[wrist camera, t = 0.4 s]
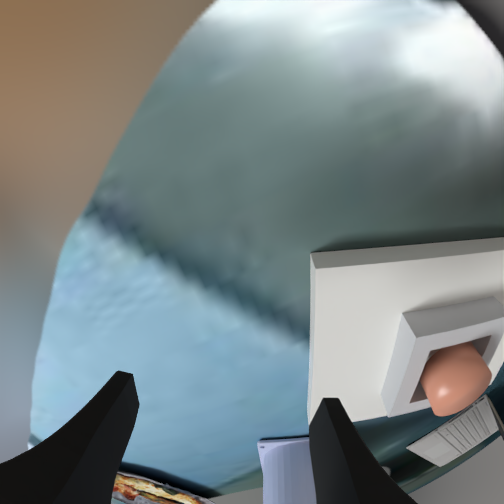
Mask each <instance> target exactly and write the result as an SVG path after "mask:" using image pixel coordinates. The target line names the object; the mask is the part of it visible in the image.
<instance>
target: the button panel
mask: <svg viewBox="0 0 504 504" xmlns="http://www.w3.org/2000/svg"><path fill="white" fill-rule="evenodd" d="M310 265H311V309H310V357H309V382H308V402H307V414H308V423H309V425H310V423H311V421H312V419H313V417H314V415H315V413H316V411H317V409H318V407H319V405H320V403H321V401H322V399H323V398H339V399H340V401H341V403H342V405H343V407H344V409H345V411H346V412H347V414H348V416H349V418H350V420H351V421H352V422H355V421H361V420H367V419H372V418H377V417H382V416H387V415H388V417H393V416H397V415H401V414H406V413H410V412H414V411H418V410H421V409H425V408H429V407H431V405H430V403H429V400H428V398H427V396H426V393H425V391H424V389H423V387H422V385H421V382H420V376H421V374H422V371H423V369H424V366H425V363H426V362H427V361H428V360H429V358H430V357H431V356H432V355H433V354H435V353H436V352H437V351H438V350H440V349H441V348H444V347H448V346H452V345H456V344H460V343H464V342H468V341H470V342H472V344H473V345H474V346H475V348H476V349H477V351H478V352H479V354H480V355H481V357H482V358H483V360H484V361H485V363H486V364H487V366H488V368H489V369H490V371H491V373H492V379H491V381H490V384H489V385H491V384H492V382H493V380H494V378H495V377H496V375H497V373H498V371H499V369H500V367H501V366H502V364H503V362H504V237H499V238H488V239H476V240H464V241H452V242H440V243H428V244H416V245H404V246H392V247H379V248H367V249H354V250H341V251H329V252H316V253H310ZM489 385H488V386H489Z"/></svg>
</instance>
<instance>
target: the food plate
mask: <svg viewBox="0 0 504 504" xmlns="http://www.w3.org/2000/svg"><path fill="white" fill-rule="evenodd" d="M139 495H140V496H139ZM137 496H138V497H137ZM141 496H142V497H141ZM112 497H113V498H114V499H117V500H119V501H121V502H124V503H126V504H182V503H185V504H215V503H214V502H212V501H210V500H209V499H207V498H202V497H200V496H197V495H193V494H191V493H190V492H188V491H184V490H180V489H179V488H173V487H170V486H169V485H168V484H167V483H166V485H164V484H162V483H159V482H157V481H154V480H151V479H148V478H145V477H143V476H139V475H137V474H133V473H130V472H124V471H119V470H118V472H117V476H116V479H115V484H114V489H113V493H112ZM140 497H141V498H140ZM143 497H144V498H145V499H144V498H143Z"/></svg>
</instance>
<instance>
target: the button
mask: <svg viewBox="0 0 504 504" xmlns="http://www.w3.org/2000/svg"><path fill="white" fill-rule="evenodd" d="M491 379H492V373H491V371H490V369H489V368H488V366H487V364H486V363H485V361H484V360H483V358H482V357H481V355H480V354H479V352H478V351H477V349H476V348H475V346H474V345H473V344H472V342H470V341H468V342H464V343H460V344H456V345H452V346H448V347H444V348H441V349H440V350H438V351H437V352H436V353H435V354H433V355H432V356H431V357H430V358H429V360H428V361H427V362H426V363H425V366H424V369H423V371H422V374H421V376H420V382H421V385H422V387H423V389H424V391H425V393H426V396H427V398H428V400H429V403H430V405H431V407H432V410H433V412H434V414H435V415H437V416H448V415H452V414H454V413H457V412H459V411H461V410H463V409H464V408H466V407H468V406H469V405H470V404H472V403H473V402H474V401H475V400H477V399H478V398H479V397H480V396H481V395H482V394H483V392H484V391H485V390H486V389H487V387H488V385H489V384H490V381H491Z"/></svg>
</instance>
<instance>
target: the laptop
mask: <svg viewBox="0 0 504 504" xmlns="http://www.w3.org/2000/svg"><path fill="white" fill-rule="evenodd" d="M471 405H472V406H473V407H472V406H471ZM471 405H470V406H471V407H472V408H471V407H470V406H469V407H470V408H471V409H470V408H469V409H468V410H467V411H466V412H465V413H464V412H463V411H465V410H466V409H467V408H468V407H467V408H466V409H465V410H463V411H462V412H463V413H464V414H463V413H462V414H461V415H460V416H459V417H458V418H456V417H457V416H458V415H459V414H460V413H461V412H460V413H459V414H458V415H456V416H455V418H456V419H455V418H454V417H453V418H454V420H453V421H452V422H450V421H451V420H452V419H453V418H452V419H450V420H449V421H447V422H446V423H444V424H443V425H441V426H440V427H438V428H437V429H435V430H434V431H432V432H431V433H429V434H428V435H426V436H424V437H423V438H421V439H419V440H418V441H416V442H415V443H413V444H411V445H409V446H408V447H407V449H409V450H411V451H412V452H414V453H416V454H418V455H419V456H421V457H423V458H425V459H427V460H428V461H430V462H432V463H434V464H436V465H438V466H439V467H441V466H443V465H445V464H446V463H448V462H450V461H452V460H453V459H455V458H457V457H458V456H460V455H462V454H463V453H465V452H466V451H468V450H470V449H471V448H473V447H474V446H476V445H477V444H479V443H480V442H482V441H483V440H485V439H486V438H487V437H489V436H490V435H492V434H493V433H494V432H496V431H497V430H498V429H499V431H500V433H501V436H502V437H503V440H504V425H503V423H502V421H501V419H500V417H499V415H498V413H497V411H496V410H495V408H494V406H493V404H492V402H491V400H490V399H489V397H487V395H486V394H485V395H484V396H482V397H481V398H480V399H478V400H477V401H476V402H474V403H473V404H471ZM449 422H450V423H449Z"/></svg>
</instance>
